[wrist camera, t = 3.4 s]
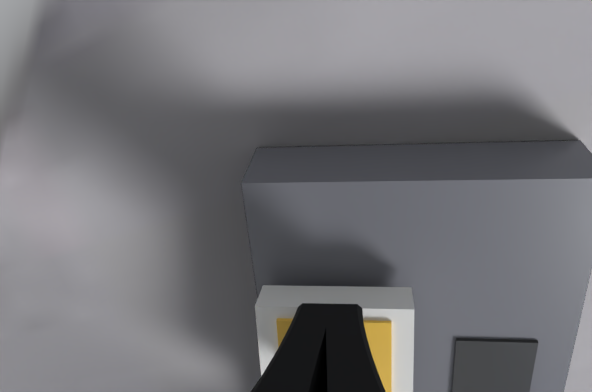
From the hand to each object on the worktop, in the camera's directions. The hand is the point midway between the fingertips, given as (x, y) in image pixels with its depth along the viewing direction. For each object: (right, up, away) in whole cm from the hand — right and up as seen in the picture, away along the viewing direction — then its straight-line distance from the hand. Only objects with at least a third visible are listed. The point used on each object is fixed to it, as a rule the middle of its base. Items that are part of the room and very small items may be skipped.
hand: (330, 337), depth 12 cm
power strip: (+3, -5, +7) cm, 9 cm away
